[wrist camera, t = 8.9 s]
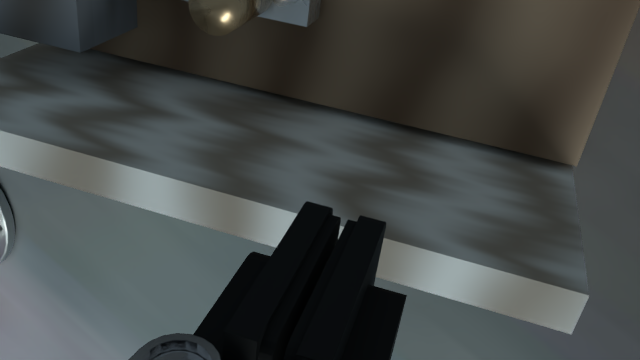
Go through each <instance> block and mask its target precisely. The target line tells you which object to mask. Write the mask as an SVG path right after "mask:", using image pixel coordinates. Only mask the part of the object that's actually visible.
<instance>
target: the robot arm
mask: <svg viewBox="0 0 640 360" xmlns="http://www.w3.org/2000/svg"><path fill="white" fill-rule="evenodd" d="M340 223H341V218H340V217H338V216H334V215H333V208H331V207H328V206H324V205H320V204H316V203H312V202H309V201H306V202H305V203H304V205H303V206H302V208H301V210H300V211H299V213H298V214H297V216H296V217H295V219H294V221H293V222H292V224H291V225H290V227H289V228H288V230H287V232H286V233H285V235H284V236H283V238H282V240H281V241H280V243H279V244H278V246H277V247H276V249H275V251H274V252H273V254H272V255H271V256H267V255H264V254H260V253H257V252H252V253H250V254H249V255H248V256H247V258H246V259H245V261H244V262H243V263H242V265H241V266H240V268H239V269H238V271H237V272H236V274H235V275H234V276H233V278H232V279H231V281H230V282H229V284H228V285H227V287H226V288H225V289H224V291H223V292H222V294H221V295H220V297H219V298H218V300H217V301H216V303H215V304H214V305H213V307H212V308H211V310H210V311H209V313H208V314H207V316H206V317H205V318H204V320H203V321H202V323H201V324H200V326H199V327H198V329H197V330H196V331H195V333H194V334H193V335H192V334H180V333H176V334H169V335H163V336H161V337H158V338H156V339H153V340H151V341H149V342H148V343H147V344H145V345H144V346H143V347H141V348H140V349H139V350H138V351H137V352H136V353H135V354H134V355H133V356H132V357H131V358H130V359H129V360H390V359H391V356H392V352H393V348H394V344H395V340H396V336H397V332H398V328H399V324H400V320H401V316H402V312H403V308H404V304H405V300H406V296H407V295H403V294H400V293H396V292H393V291H389V290H386V289H382V288H379V287H375V286H374V282H375V277H376V272H377V268H378V263H379V258H380V253H381V249H382V244H383V239H384V234H385V229H386V222H384V221H381V220H377V219H373V218H369V217H365V216H362V215H360V216H359V218H358V220H357V221H353V220H349V219H348V220H347V222H346V224H345V226H344V228H343V230H342V232H341V235H340V237H339V239H338V236H339V229H340ZM14 241H15V225H14V219H13V215H12V212H11V209H10V206H9V204H8V202H7V200H6V197H5V195H4V193H3V192H2V190H1V189H0V263H1V262H2V261H4V260H5V259H6V258H7V257H8V255H9V254H10V253H11V251H12V248H13V245H14Z"/></svg>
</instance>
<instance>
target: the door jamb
mask: <svg viewBox="0 0 640 360" xmlns="http://www.w3.org/2000/svg"><path fill="white" fill-rule="evenodd" d="M188 2H189V1H184V0H0V33H1V34H5V35H9V36H14V37H18V38H22V39H26V40H30V41H34V42H38V44H36V45H33V46H31V47H28V48H26V49H23V50H21V51H18V52H15V53H13V54H10V55H8V56H5V57H3V58H0V167H4V168H7V169H11V170H14V171H17V172H21V173H24V174H28V175H31V176H34V177H38V178H41V179H45V180H48V181H51V182H55V183H58V184H62V185H65V186H68V187H72V188H75V189H79V190H82V191H85V192H89V193H92V194H96V195H99V196H102V197H106V198H109V199H113V200H116V201H119V202H123V203H126V204H130V205H133V206H136V207H140V208H143V209H147V210H150V211H154V212H157V213H160V214H164V215H167V216H171V217H174V218H177V219H181V220H184V221H188V222H191V223H194V224H198V225H201V226H205V227H208V228H211V229H215V230H218V231H222V232H225V233H228V234H232V235H235V236H239V237H242V238H245V239H249V240H252V241H256V242H259V243H262V244H266V245H269V246H273V247H277V246H278V244H279V243H280V241H281V240H282V238H283V236H284V235H285V233H286V232H287V230H288V228H289V227H290V225H291V224H292V222H293V221H294V219H295V217H296V216H297V214H298V213H299V211H300V210H301V208H302V206H303V205H304V203H305V202H306V201H309V202H312V203H316V204H320V205H324V206H328V207H331V208H333V215H334V216H338V217H340V218H341V223H340V229H339V236H338V239H339V237H340V235H341V232H342V230H343V228H344V226H345V224H346V222H347V220H348V219H349V220H353V221H357V220H358V218H359V216H360V215H362V216H365V217H369V218H373V219H377V220H381V221H384V222H386V229H385V234H384V239H383V244H382V249H381V253H380V258H379V263H378V268H377V272H376V277H378V278H381V279H385V280H388V281H392V282H395V283H398V284H402V285H405V286H409V287H412V288H415V289H419V290H422V291H426V292H429V293H432V294H436V295H439V296H443V297H446V298H449V299H453V300H456V301H460V302H463V303H466V304H470V305H473V306H477V307H480V308H483V309H487V310H490V311H494V312H497V313H500V314H504V315H507V316H511V317H514V318H517V319H521V320H524V321H528V322H531V323H535V324H538V325H541V326H545V327H548V328H552V329H555V330H558V331H562V332H565V333H569V334H572V332H573V330H574V328H575V326H576V323H577V321H578V319H579V317H580V315H581V313H582V311H583V308H584V306H585V304H586V302H587V300H588V298H589V288H588V281H587V273H586V266H585V258H584V251H583V243H582V235H581V228H580V220H579V213H578V205H577V198H576V190H575V183H574V175H573V167H572V165H574V166H577V164H578V162H579V159H580V157H581V154H582V152H583V149H584V147H585V144H586V142H587V139H588V136H589V134H590V131H591V129H592V126H593V124H594V121H595V119H596V116H597V114H598V111H599V109H600V106H601V103H602V101H603V98H604V96H605V93H606V91H607V88H608V86H609V83H610V81H611V78H612V76H613V73H614V70H615V68H616V65H617V63H618V60H619V58H620V55H621V53H622V50H623V48H624V45H625V42H626V40H627V37H628V35H629V32H630V30H631V27H632V25H633V22H634V20H635V17H636V15H637V12H638V9H639V7H640V0H321V6H320V14H319V18H318V19H316V20H315V21H314V22H313V23H311V24H310V25H309V26H308V27H305V26H300V25H295V24H291V23H286V22H281V21H277V20H272V19H267V18H263V17H258V16H257V17H255V18H253V19H252V20H250V21H248V22H247V23H245V24H244V25H242V26H240V27H239V28H237V29H235V30H234V31H232V32H230V33H229V34H226V35H223V36H213V35H210V34H208V33H206V32H204V31H203V30H201V29H200V28H199V27H198V26H197V25H196V23H195V22H194V20H193V19H192V17H191V14H190V11H189V3H188Z"/></svg>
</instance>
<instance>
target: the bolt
mask: <svg viewBox="0 0 640 360" xmlns="http://www.w3.org/2000/svg"><path fill="white" fill-rule="evenodd" d="M184 1H189V2H188V3H189V11H190V14H191V17H192V19H193V20H194V22H195V23H196V25H197V26H198V27H199V28H200V29H201V30H203V31H204V32H206V33H208V34H210V35H213V36H223V35H226V34H229V33H230V32H232V31H234V30H235V29H237V28H239V27H240V26H242V25H244V24H245V23H247V22H248V21H250V20H252V19H253V18H255V17H257V16H258V17H263V18H267V19H272V20H277V21H281V22H286V23H291V24H295V25H300V26H305V27H308V26H309V25H310V24H311V23H313V22H314V21H315V20H316V19H318V18H319V14H320V6H321V0H184Z"/></svg>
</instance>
